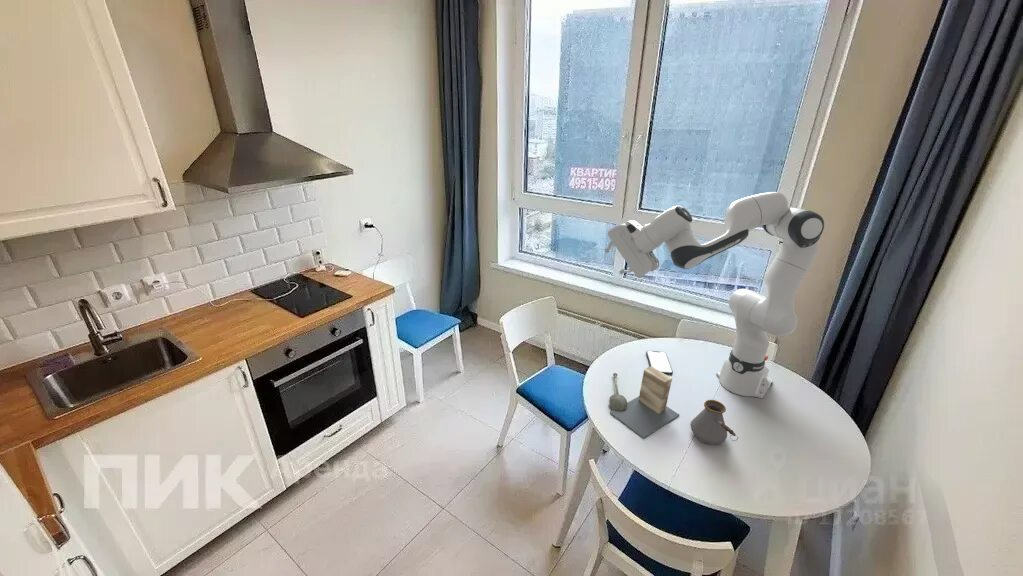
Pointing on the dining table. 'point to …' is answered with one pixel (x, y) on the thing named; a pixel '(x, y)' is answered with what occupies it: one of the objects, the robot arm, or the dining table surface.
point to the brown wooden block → (655, 389)
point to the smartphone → (659, 361)
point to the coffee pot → (711, 424)
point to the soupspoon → (617, 399)
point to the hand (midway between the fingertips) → (613, 262)
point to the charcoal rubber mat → (643, 417)
